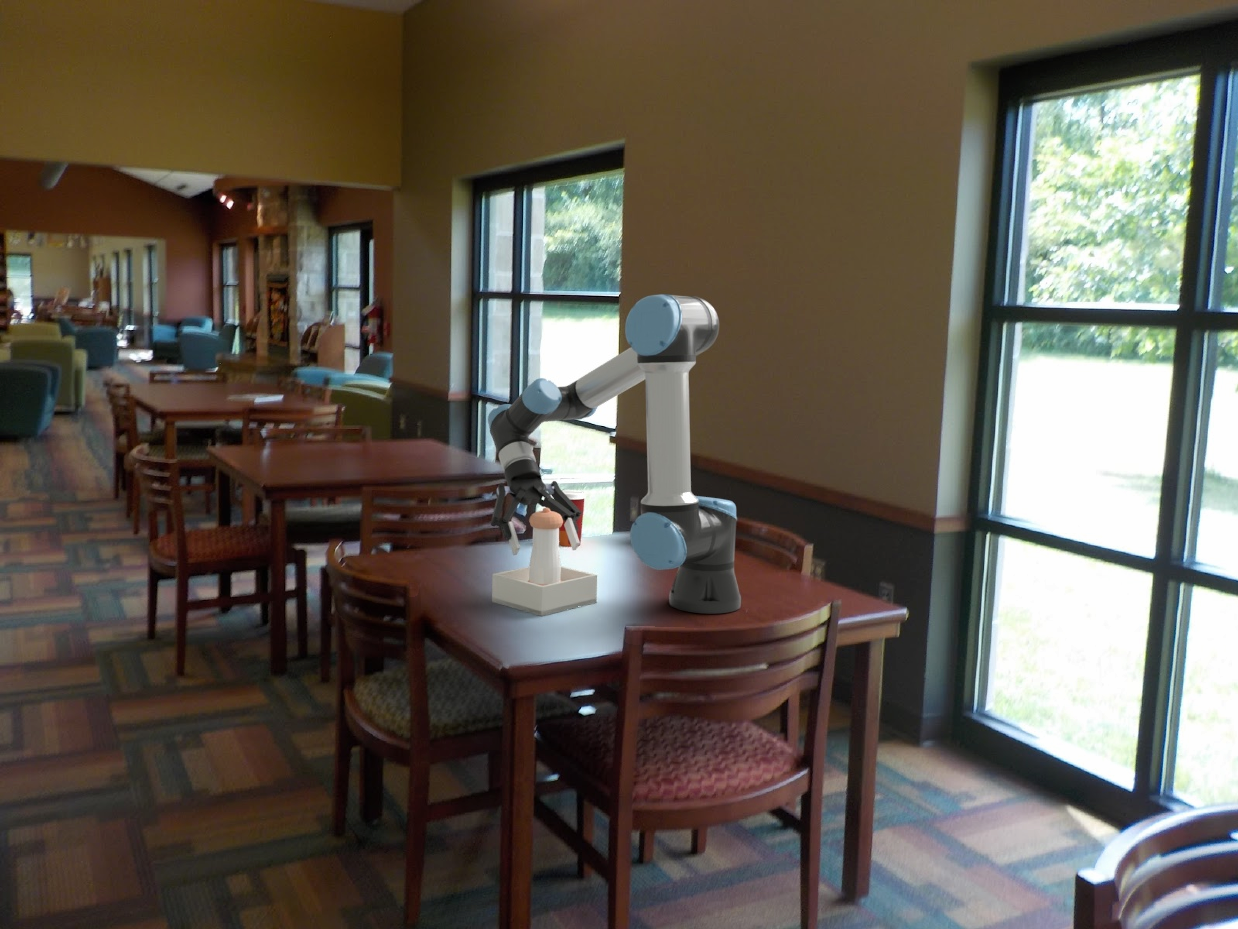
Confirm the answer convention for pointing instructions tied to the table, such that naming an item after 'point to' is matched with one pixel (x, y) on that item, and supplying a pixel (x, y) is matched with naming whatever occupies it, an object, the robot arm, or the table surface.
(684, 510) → the robot arm
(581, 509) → the paper cup
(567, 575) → the bin
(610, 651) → the table surface
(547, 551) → the salt shaker
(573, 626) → the table surface
